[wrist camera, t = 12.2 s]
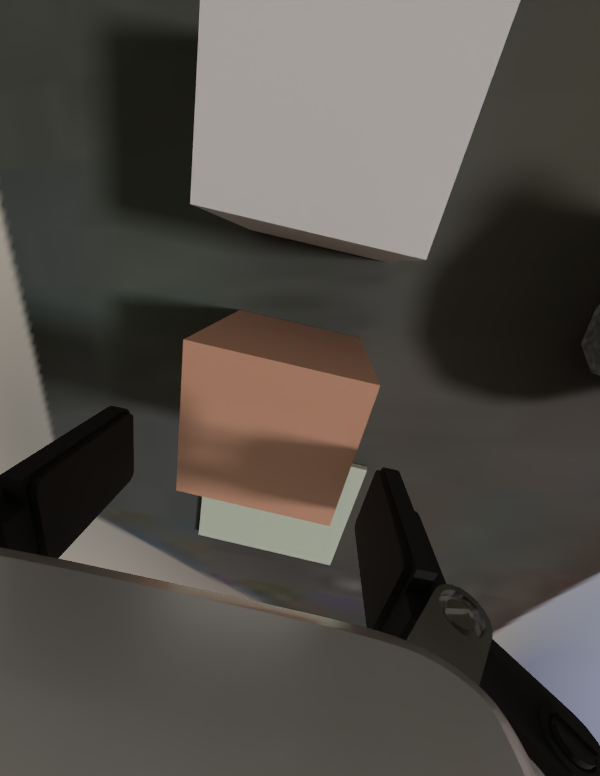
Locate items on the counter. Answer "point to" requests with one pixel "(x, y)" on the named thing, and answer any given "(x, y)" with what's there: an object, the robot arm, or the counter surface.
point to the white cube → (340, 115)
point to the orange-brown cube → (272, 414)
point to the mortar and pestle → (593, 343)
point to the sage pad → (281, 525)
